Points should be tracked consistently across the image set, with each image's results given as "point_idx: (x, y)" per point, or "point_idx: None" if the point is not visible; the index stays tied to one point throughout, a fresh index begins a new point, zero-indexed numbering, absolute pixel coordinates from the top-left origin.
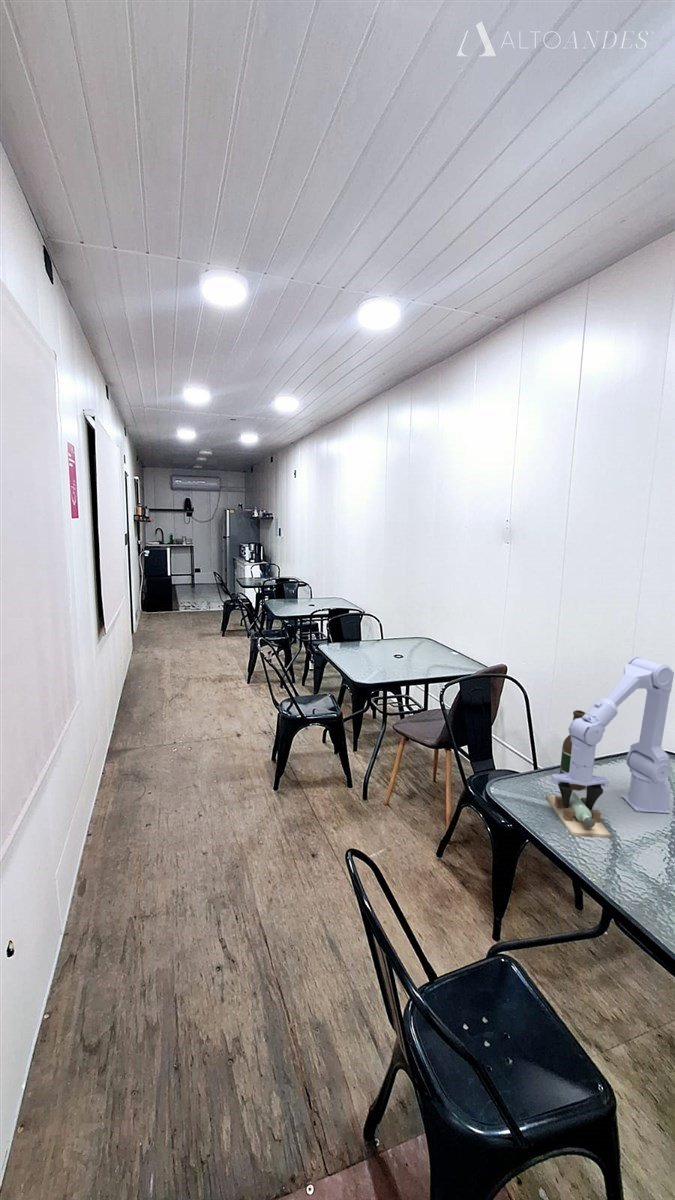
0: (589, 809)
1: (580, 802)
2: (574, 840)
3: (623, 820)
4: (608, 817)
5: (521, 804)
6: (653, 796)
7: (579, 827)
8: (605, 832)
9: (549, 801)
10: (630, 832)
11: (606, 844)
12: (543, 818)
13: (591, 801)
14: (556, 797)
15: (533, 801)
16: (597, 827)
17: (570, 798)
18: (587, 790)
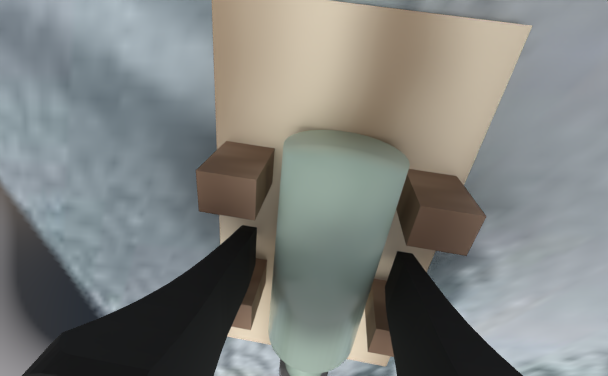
0: (386, 299)
1: (321, 325)
2: (226, 342)
3: (588, 276)
4: (522, 247)
5: (31, 86)
6: None
7: None
8: (372, 353)
9: (217, 75)
10: (513, 343)
11: (335, 371)
12: (141, 222)
13: (398, 364)
14: (199, 190)
15: (112, 48)
16: (360, 329)
17: (288, 251)
18: (438, 367)
